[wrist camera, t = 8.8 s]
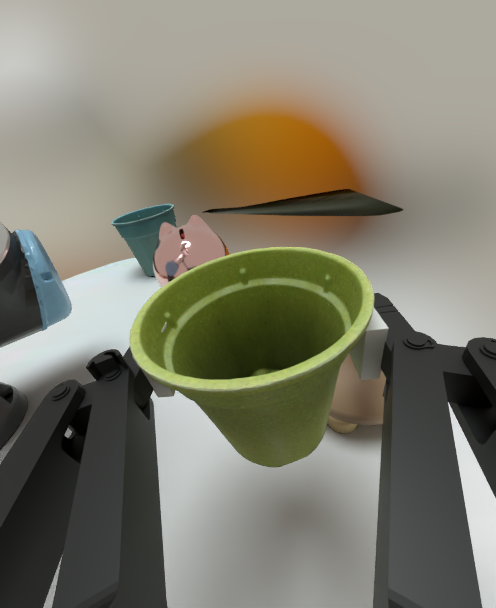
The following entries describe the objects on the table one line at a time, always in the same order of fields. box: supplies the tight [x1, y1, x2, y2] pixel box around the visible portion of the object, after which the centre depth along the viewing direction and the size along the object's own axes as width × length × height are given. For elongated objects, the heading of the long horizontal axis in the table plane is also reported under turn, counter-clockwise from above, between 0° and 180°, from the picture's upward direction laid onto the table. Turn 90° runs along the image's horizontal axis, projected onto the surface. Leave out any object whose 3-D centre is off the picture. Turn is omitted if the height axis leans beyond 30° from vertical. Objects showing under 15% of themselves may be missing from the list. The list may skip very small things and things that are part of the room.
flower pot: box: [111, 204, 176, 277], centre depth 67 cm, size 16×16×16 cm
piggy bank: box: [153, 215, 230, 288], centre depth 49 cm, size 15×18×16 cm
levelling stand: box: [327, 353, 386, 434], centre depth 27 cm, size 12×12×4 cm
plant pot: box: [130, 247, 374, 467], centre depth 12 cm, size 9×9×9 cm
